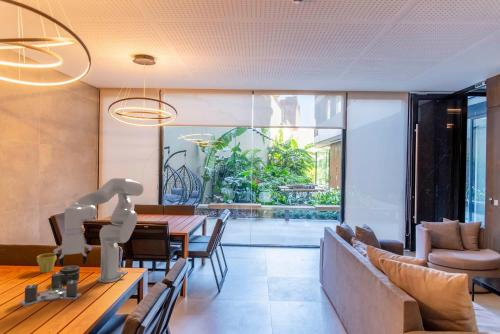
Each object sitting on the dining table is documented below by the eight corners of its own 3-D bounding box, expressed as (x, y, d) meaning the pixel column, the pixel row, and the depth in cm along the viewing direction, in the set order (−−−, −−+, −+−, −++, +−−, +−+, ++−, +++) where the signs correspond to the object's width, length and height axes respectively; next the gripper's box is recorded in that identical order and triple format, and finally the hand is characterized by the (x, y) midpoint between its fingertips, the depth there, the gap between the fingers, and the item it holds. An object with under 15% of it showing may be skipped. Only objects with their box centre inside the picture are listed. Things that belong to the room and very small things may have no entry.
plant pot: (49, 274, 193) (49, 258, 193) (32, 273, 194) (32, 257, 194) (59, 268, 204) (60, 253, 204) (43, 268, 204) (44, 252, 204)
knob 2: (60, 287, 170) (61, 274, 170) (51, 288, 169) (51, 275, 169) (62, 284, 175) (62, 271, 175) (52, 285, 173) (52, 272, 173)
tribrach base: (84, 283, 180) (84, 278, 180) (80, 299, 159) (80, 293, 159) (29, 289, 170) (29, 284, 170) (18, 307, 149) (18, 301, 149)
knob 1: (26, 298, 155) (27, 284, 155) (37, 297, 157) (37, 283, 157) (24, 302, 151) (24, 287, 151) (35, 300, 153) (35, 286, 153)
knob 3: (67, 293, 162) (67, 279, 162) (77, 292, 164) (77, 279, 164) (66, 297, 158) (66, 283, 158) (76, 295, 160) (76, 282, 160)
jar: (76, 283, 179) (76, 270, 179) (56, 285, 177) (57, 271, 177) (81, 277, 189) (81, 264, 189) (62, 278, 186) (62, 265, 186)
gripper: (92, 228, 168) (92, 260, 169) (54, 230, 161) (54, 264, 162) (91, 231, 161) (92, 264, 162) (52, 234, 154) (52, 269, 155)
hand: (73, 264), depth 162 cm, fingers open, 9 cm apart
